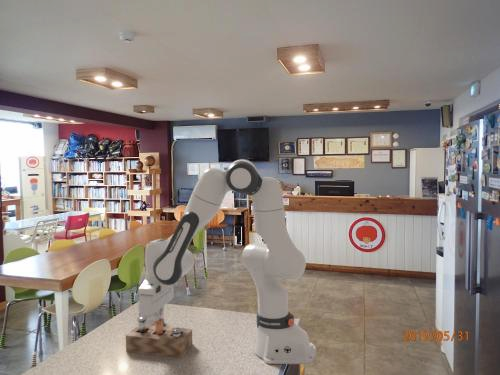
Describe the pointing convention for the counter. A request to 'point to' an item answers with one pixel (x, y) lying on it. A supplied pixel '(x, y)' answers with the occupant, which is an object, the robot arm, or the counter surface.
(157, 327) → the terracotta plug
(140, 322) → the grey plug far
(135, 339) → the block
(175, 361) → the counter surface
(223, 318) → the counter surface
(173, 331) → the grey plug near
